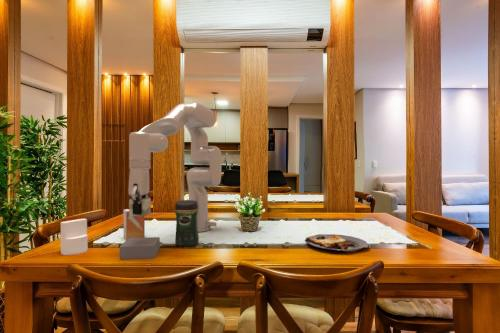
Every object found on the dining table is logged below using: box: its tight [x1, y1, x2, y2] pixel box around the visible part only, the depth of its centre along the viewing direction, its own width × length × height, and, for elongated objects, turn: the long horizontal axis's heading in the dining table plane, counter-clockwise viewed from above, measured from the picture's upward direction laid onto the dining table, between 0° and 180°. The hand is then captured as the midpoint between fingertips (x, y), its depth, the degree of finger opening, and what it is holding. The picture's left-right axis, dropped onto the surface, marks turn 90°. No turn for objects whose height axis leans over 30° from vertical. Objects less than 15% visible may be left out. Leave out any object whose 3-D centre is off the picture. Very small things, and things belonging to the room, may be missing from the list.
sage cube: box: [128, 197, 152, 217], centre depth 115 cm, size 6×6×6 cm
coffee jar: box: [174, 199, 200, 247], centre depth 129 cm, size 10×8×19 cm
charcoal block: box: [119, 236, 161, 260], centre depth 116 cm, size 12×12×5 cm
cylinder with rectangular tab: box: [60, 218, 88, 256], centre depth 119 cm, size 9×9×12 cm
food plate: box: [304, 233, 369, 253], centre depth 127 cm, size 25×23×4 cm
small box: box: [122, 208, 146, 241], centre depth 139 cm, size 8×6×13 cm
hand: (140, 212), depth 115 cm, fingers closed on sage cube, 6 cm apart
